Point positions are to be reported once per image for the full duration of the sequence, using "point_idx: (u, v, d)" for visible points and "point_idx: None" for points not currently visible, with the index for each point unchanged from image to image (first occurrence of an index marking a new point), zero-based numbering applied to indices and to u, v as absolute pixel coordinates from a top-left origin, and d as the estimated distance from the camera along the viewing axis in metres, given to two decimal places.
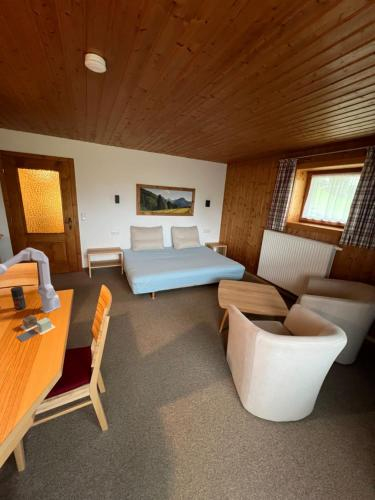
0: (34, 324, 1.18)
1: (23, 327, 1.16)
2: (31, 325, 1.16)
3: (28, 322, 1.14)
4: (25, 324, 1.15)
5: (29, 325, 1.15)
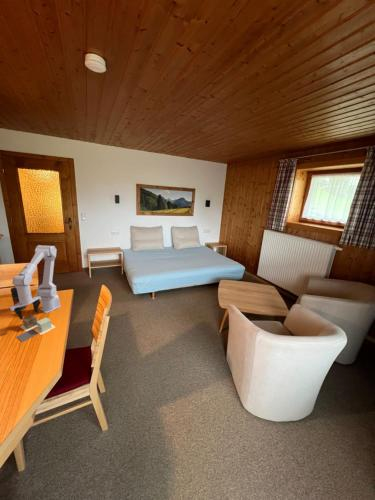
0: (34, 324, 1.18)
1: (23, 327, 1.16)
2: (31, 325, 1.16)
3: (28, 322, 1.14)
4: (25, 324, 1.15)
5: (29, 325, 1.15)
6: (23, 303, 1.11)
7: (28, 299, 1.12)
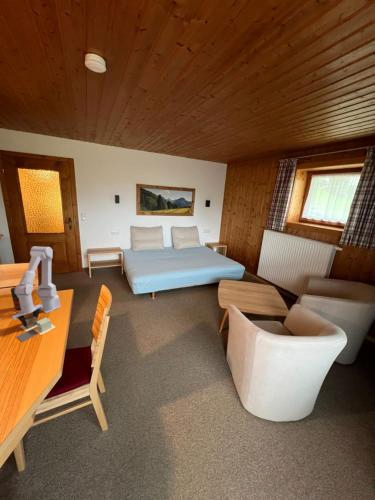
0: (34, 324, 1.18)
1: (23, 327, 1.16)
2: (31, 325, 1.16)
3: (28, 322, 1.14)
4: None
5: (29, 325, 1.15)
6: (25, 312, 1.12)
7: (30, 307, 1.14)
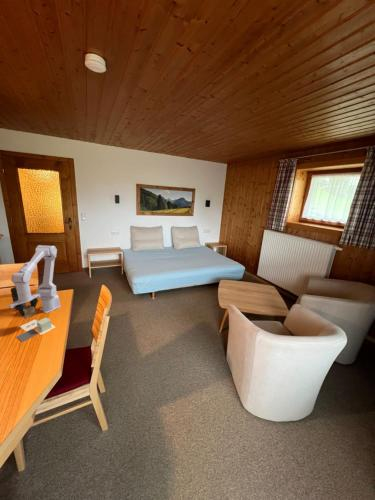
0: (32, 314, 1.15)
1: (23, 327, 1.16)
2: (29, 315, 1.14)
3: (26, 312, 1.12)
4: None
5: (27, 315, 1.13)
6: (22, 300, 1.10)
7: (28, 296, 1.11)
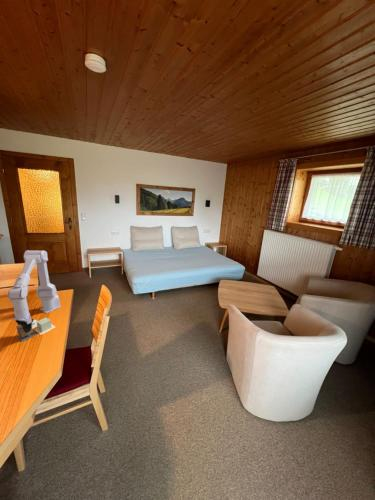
0: None
1: None
2: None
3: None
4: None
5: None
6: (28, 314, 1.07)
7: None
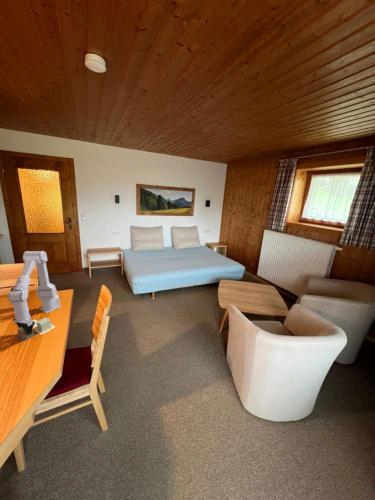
0: None
1: None
2: None
3: None
4: None
5: None
6: (29, 316, 1.07)
7: None
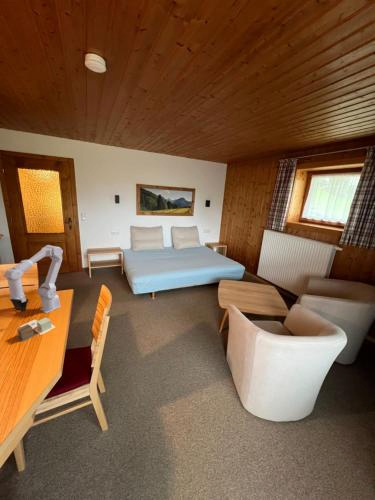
0: None
1: None
2: None
3: None
4: (28, 333, 1.08)
5: None
6: (23, 294, 1.16)
7: None
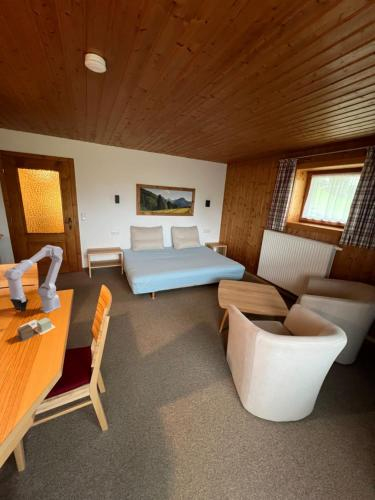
0: None
1: None
2: None
3: None
4: (28, 333, 1.08)
5: None
6: (23, 294, 1.16)
7: None
